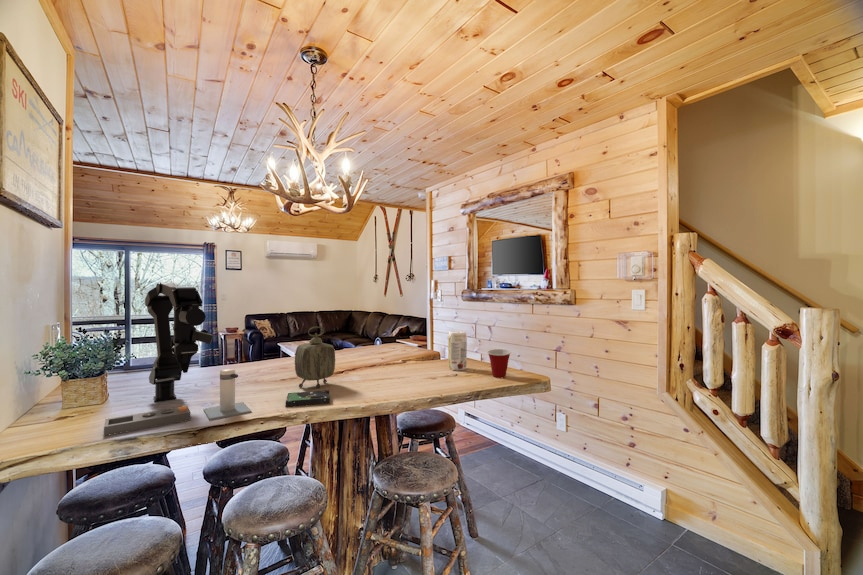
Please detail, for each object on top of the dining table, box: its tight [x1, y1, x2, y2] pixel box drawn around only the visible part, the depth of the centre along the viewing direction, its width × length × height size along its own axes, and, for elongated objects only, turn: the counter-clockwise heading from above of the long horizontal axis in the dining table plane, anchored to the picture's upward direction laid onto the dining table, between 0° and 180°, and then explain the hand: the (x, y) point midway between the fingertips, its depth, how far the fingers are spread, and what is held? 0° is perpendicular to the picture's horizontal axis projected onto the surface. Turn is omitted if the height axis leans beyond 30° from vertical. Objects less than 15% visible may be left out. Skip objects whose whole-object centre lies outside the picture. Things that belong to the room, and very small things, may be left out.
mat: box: [203, 401, 253, 421], centre depth 123 cm, size 12×12×1 cm
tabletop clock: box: [294, 325, 336, 388], centre depth 154 cm, size 14×9×25 cm, turn 133°
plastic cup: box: [487, 348, 512, 379], centre depth 173 cm, size 11×11×12 cm
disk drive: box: [285, 389, 331, 408], centre depth 134 cm, size 10×3×15 cm
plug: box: [219, 368, 239, 412], centre depth 122 cm, size 7×4×13 cm, turn 66°
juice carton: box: [447, 330, 468, 371], centre depth 189 cm, size 8×9×19 cm
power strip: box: [103, 405, 191, 436], centre depth 111 cm, size 8×20×3 cm, turn 129°
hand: (183, 370), depth 125 cm, fingers open, 9 cm apart
